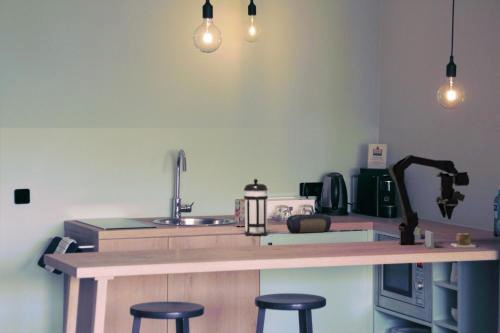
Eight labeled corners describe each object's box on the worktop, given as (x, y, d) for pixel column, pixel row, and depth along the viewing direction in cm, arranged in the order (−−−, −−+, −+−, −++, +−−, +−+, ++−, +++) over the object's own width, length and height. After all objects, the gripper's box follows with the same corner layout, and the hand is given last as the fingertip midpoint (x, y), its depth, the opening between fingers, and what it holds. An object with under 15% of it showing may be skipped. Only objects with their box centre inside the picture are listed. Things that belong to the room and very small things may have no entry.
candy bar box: (239, 227, 473) (239, 199, 472) (234, 227, 477) (234, 199, 476) (254, 226, 480) (254, 198, 479) (249, 225, 484) (248, 198, 483)
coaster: (456, 247, 375) (456, 245, 375) (451, 245, 384) (451, 243, 384) (475, 247, 375) (475, 245, 375) (469, 245, 384) (469, 243, 384)
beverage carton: (405, 239, 412) (405, 226, 411) (400, 235, 431) (400, 222, 430) (421, 239, 411) (421, 226, 411) (415, 235, 430) (415, 222, 430)
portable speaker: (292, 234, 435) (291, 215, 435) (285, 232, 445) (284, 214, 445) (334, 232, 444) (334, 214, 444) (326, 230, 453) (326, 213, 453)
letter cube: (459, 245, 377) (459, 234, 377) (456, 244, 382) (456, 233, 382) (470, 245, 377) (470, 234, 377) (466, 243, 382) (466, 232, 382)
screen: (429, 248, 373) (429, 233, 373) (423, 245, 384) (423, 230, 384) (435, 248, 374) (435, 232, 373) (429, 245, 385) (429, 230, 384)
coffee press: (234, 235, 432) (234, 179, 431) (256, 232, 443) (255, 178, 443) (257, 237, 420) (257, 179, 419) (279, 235, 431) (278, 178, 430)
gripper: (469, 187, 382) (469, 220, 382) (457, 185, 400) (457, 216, 401) (445, 187, 381) (445, 220, 382) (435, 185, 400) (435, 216, 400)
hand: (446, 218), depth 391 cm, fingers open, 9 cm apart
